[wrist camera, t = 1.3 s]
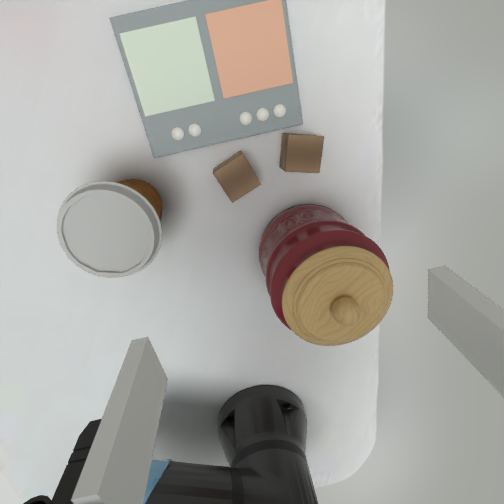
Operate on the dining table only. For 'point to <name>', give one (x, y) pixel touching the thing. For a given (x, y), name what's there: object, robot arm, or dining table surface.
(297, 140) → the walnut block
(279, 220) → the canister
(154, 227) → the disposable coffee cup
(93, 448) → the robot arm
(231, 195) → the walnut block
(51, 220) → the dining table surface
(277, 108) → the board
